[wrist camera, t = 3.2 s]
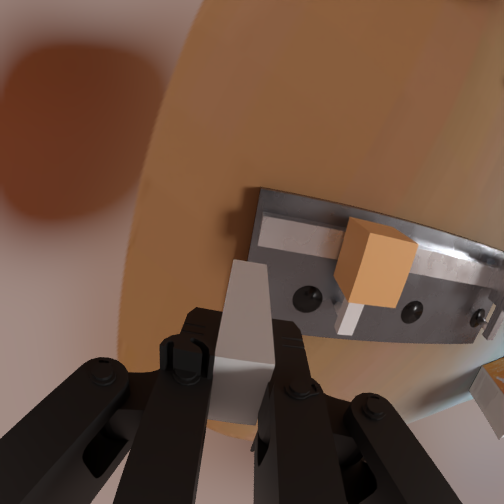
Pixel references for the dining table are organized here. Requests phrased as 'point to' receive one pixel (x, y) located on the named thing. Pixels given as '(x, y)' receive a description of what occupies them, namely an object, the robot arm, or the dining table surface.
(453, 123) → the dining table surface
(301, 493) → the robot arm
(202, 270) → the dining table surface
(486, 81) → the dining table surface
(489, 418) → the small box
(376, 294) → the block
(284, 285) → the bolt plate
